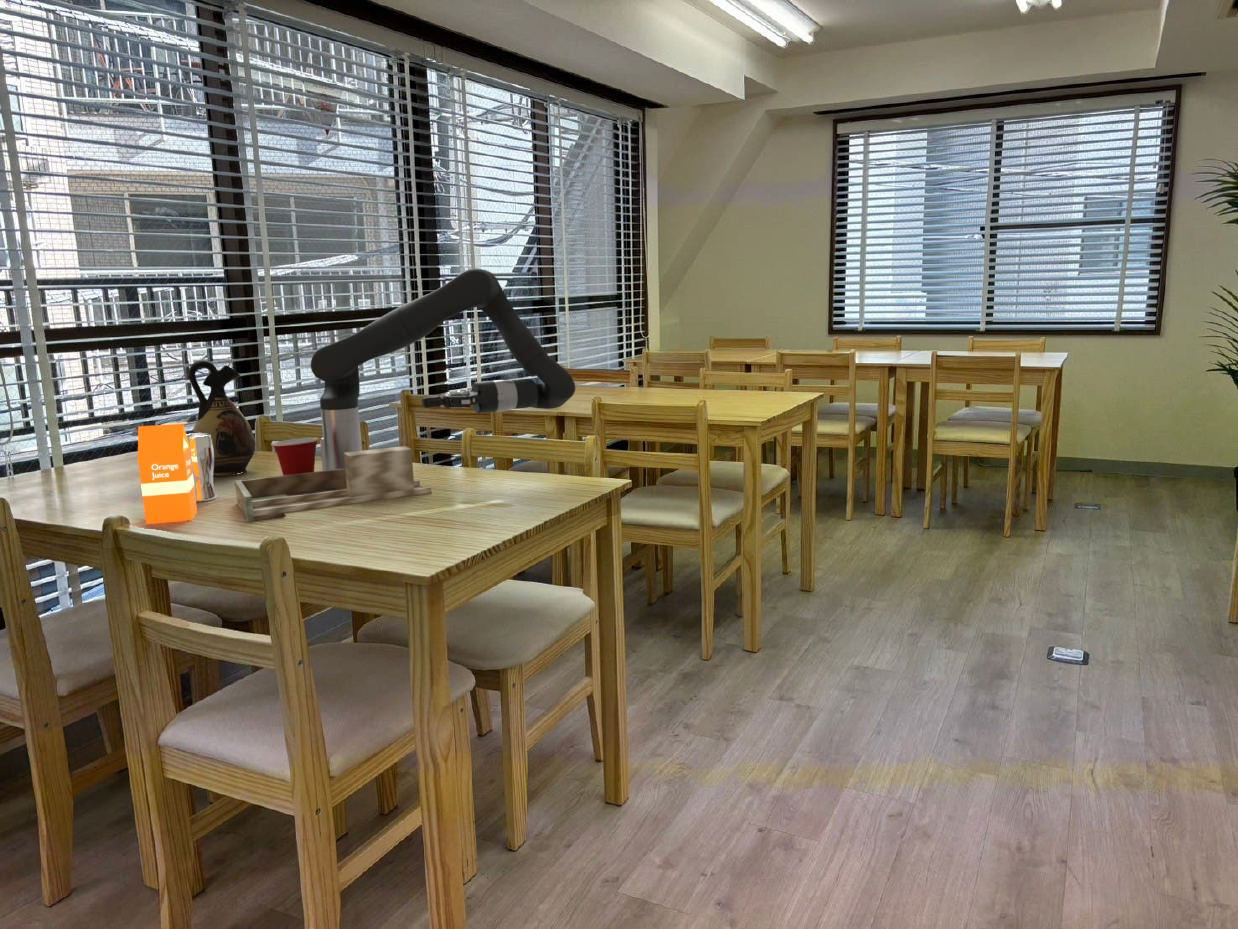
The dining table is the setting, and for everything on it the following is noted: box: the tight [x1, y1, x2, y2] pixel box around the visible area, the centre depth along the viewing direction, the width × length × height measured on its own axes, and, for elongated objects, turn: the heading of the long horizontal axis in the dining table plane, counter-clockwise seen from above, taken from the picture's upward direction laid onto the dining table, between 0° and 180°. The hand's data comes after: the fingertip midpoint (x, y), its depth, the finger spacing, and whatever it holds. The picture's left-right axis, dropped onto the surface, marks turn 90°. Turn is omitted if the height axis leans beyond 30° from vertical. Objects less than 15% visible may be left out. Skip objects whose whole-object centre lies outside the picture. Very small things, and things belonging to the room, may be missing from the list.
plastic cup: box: [270, 437, 319, 476], centre depth 219 cm, size 11×11×12 cm
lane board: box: [234, 468, 432, 522], centre depth 206 cm, size 39×19×5 cm, turn 118°
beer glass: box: [186, 433, 218, 503], centre depth 209 cm, size 7×7×15 cm
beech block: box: [344, 445, 415, 497], centre depth 206 cm, size 14×5×10 cm, turn 118°
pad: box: [252, 494, 288, 501], centre depth 203 cm, size 8×7×1 cm
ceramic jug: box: [188, 360, 256, 477], centre depth 238 cm, size 17×15×30 cm
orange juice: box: [136, 423, 198, 525], centre depth 192 cm, size 8×9×20 cm
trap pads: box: [299, 488, 336, 495], centre depth 211 cm, size 20×7×1 cm, turn 118°
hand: (423, 402), depth 208 cm, fingers closed
